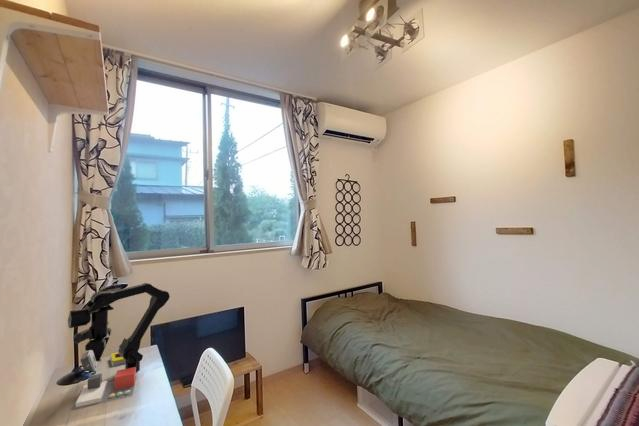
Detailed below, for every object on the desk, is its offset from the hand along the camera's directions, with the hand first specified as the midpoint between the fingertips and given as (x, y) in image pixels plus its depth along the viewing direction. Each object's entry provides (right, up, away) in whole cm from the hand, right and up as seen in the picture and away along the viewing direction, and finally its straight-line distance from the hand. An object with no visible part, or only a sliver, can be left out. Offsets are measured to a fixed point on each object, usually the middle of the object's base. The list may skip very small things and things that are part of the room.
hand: (98, 358), depth 127 cm
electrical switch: (-13, -12, +12) cm, 21 cm away
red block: (+13, -10, -2) cm, 16 cm away
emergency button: (-5, -13, +23) cm, 26 cm away
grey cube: (+3, -8, -7) cm, 11 cm away
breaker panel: (+9, -11, -8) cm, 16 cm away
